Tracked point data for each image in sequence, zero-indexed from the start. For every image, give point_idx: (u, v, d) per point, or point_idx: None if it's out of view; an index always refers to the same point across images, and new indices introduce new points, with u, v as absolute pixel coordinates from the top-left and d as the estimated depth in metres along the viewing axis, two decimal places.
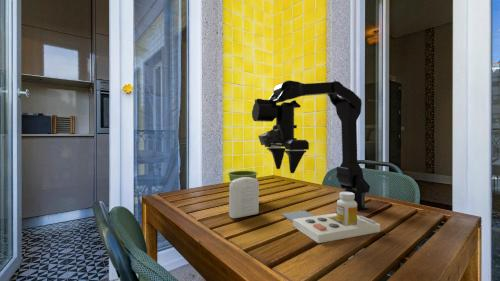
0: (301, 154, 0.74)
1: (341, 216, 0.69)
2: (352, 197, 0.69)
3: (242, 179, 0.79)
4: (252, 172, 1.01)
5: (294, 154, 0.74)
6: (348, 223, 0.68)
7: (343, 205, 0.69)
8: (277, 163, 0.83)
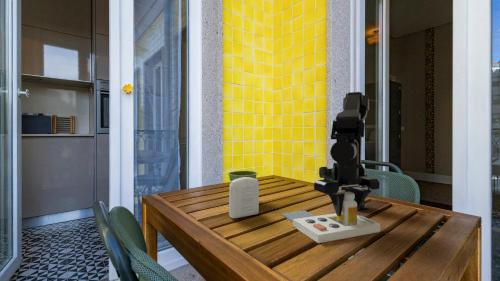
0: (338, 197, 0.67)
1: (341, 216, 0.69)
2: (352, 197, 0.69)
3: (242, 179, 0.79)
4: (252, 172, 1.01)
5: (335, 195, 0.69)
6: (348, 223, 0.68)
7: (343, 205, 0.69)
8: None
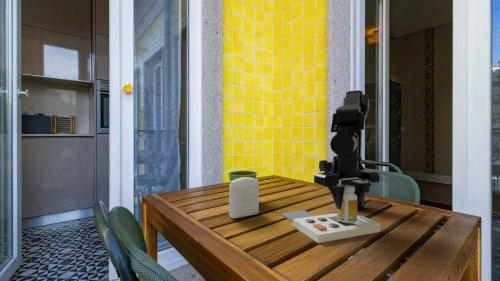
0: (338, 190, 0.67)
1: (341, 209, 0.69)
2: (352, 190, 0.69)
3: (242, 179, 0.79)
4: (252, 172, 1.01)
5: (335, 189, 0.69)
6: (349, 216, 0.68)
7: (343, 198, 0.69)
8: None
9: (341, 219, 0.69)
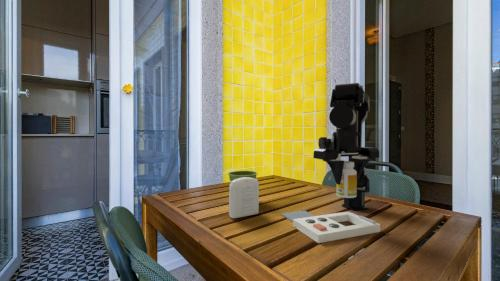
0: (337, 165, 0.67)
1: (341, 184, 0.69)
2: (352, 165, 0.69)
3: (242, 179, 0.79)
4: (252, 172, 1.01)
5: (335, 164, 0.69)
6: (348, 191, 0.68)
7: (342, 173, 0.69)
8: None
9: (341, 194, 0.69)
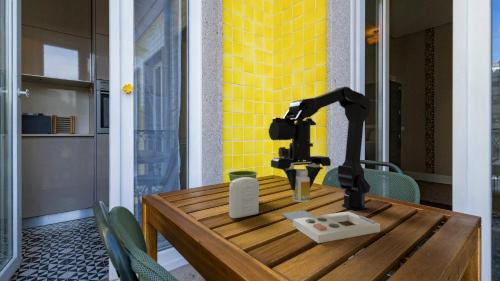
0: (290, 173, 0.75)
1: (295, 190, 0.77)
2: (305, 173, 0.77)
3: (242, 179, 0.79)
4: (252, 172, 1.01)
5: (289, 172, 0.77)
6: (301, 196, 0.76)
7: (296, 180, 0.77)
8: None
9: (295, 199, 0.77)
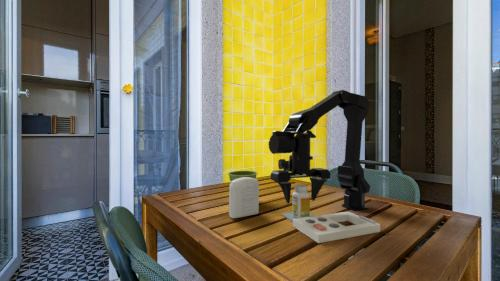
0: (285, 186, 0.74)
1: (295, 206, 0.77)
2: (304, 189, 0.77)
3: (242, 179, 0.79)
4: (252, 172, 1.01)
5: (284, 185, 0.77)
6: (301, 212, 0.76)
7: (296, 196, 0.77)
8: (312, 194, 0.81)
9: (295, 215, 0.77)
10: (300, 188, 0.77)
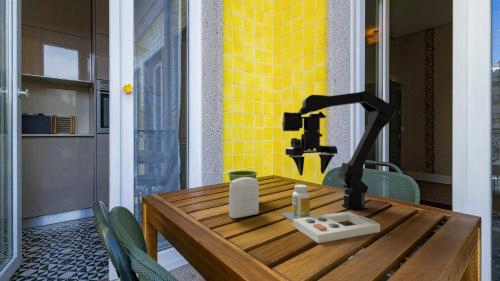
0: (299, 160, 0.85)
1: (295, 206, 0.77)
2: (304, 189, 0.77)
3: (242, 179, 0.79)
4: (252, 172, 1.01)
5: (298, 159, 0.87)
6: (301, 213, 0.76)
7: (296, 196, 0.77)
8: (321, 168, 0.91)
9: (295, 215, 0.77)
10: (300, 188, 0.77)
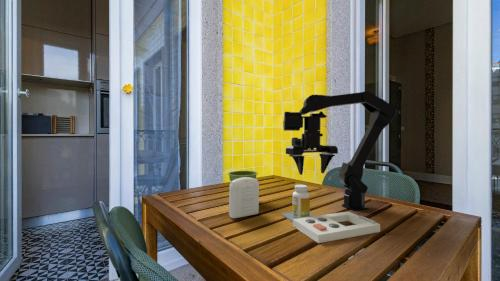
0: (299, 159, 0.86)
1: (295, 206, 0.77)
2: (304, 189, 0.77)
3: (242, 179, 0.79)
4: (252, 172, 1.01)
5: (298, 158, 0.88)
6: (301, 212, 0.76)
7: (296, 196, 0.77)
8: (321, 167, 0.92)
9: (295, 215, 0.77)
10: (300, 188, 0.77)
